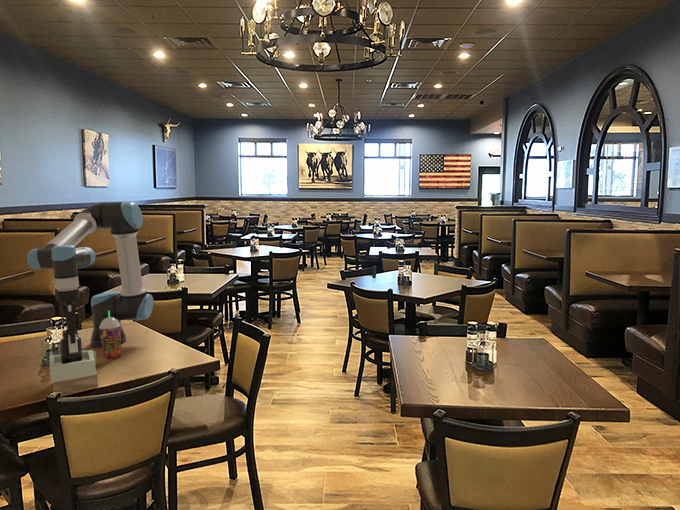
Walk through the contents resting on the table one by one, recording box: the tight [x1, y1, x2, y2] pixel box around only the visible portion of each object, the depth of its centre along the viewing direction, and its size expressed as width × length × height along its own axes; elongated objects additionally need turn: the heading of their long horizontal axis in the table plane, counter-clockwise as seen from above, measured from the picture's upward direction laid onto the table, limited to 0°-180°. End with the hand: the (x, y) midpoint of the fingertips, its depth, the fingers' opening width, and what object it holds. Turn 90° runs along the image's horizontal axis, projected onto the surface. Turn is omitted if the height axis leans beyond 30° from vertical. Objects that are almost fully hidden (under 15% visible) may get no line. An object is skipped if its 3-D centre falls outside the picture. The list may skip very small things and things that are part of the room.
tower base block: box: [51, 371, 99, 394], centre depth 188 cm, size 14×14×5 cm
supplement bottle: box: [59, 328, 83, 364], centre depth 186 cm, size 7×7×12 cm
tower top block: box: [48, 349, 97, 384], centre depth 187 cm, size 14×14×6 cm
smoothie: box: [99, 311, 122, 360], centre depth 217 cm, size 8×8×20 cm
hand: (72, 347), depth 187 cm, fingers open, 13 cm apart
